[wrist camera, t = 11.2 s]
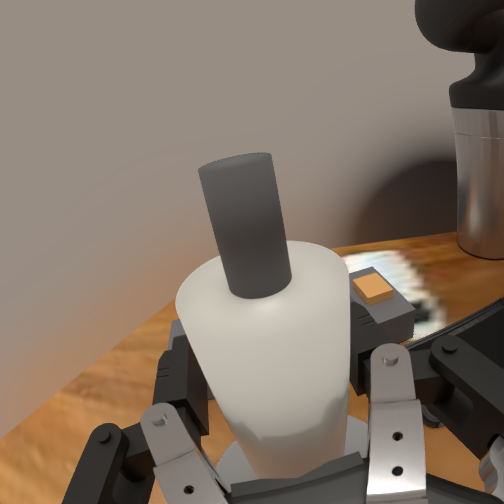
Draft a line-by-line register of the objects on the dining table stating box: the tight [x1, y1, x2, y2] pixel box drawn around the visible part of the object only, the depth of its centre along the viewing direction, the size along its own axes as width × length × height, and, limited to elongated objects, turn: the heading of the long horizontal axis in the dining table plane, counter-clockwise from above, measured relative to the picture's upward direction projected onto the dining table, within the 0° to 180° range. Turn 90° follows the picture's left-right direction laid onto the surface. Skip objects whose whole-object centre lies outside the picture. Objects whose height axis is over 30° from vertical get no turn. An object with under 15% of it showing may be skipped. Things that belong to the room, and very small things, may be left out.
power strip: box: [168, 267, 416, 400], centre depth 25 cm, size 20×8×4 cm, turn 98°
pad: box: [215, 415, 368, 491], centre depth 14 cm, size 11×11×1 cm
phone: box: [403, 297, 504, 428], centre depth 18 cm, size 8×1×15 cm
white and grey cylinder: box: [176, 153, 350, 479], centre depth 10 cm, size 4×4×17 cm
